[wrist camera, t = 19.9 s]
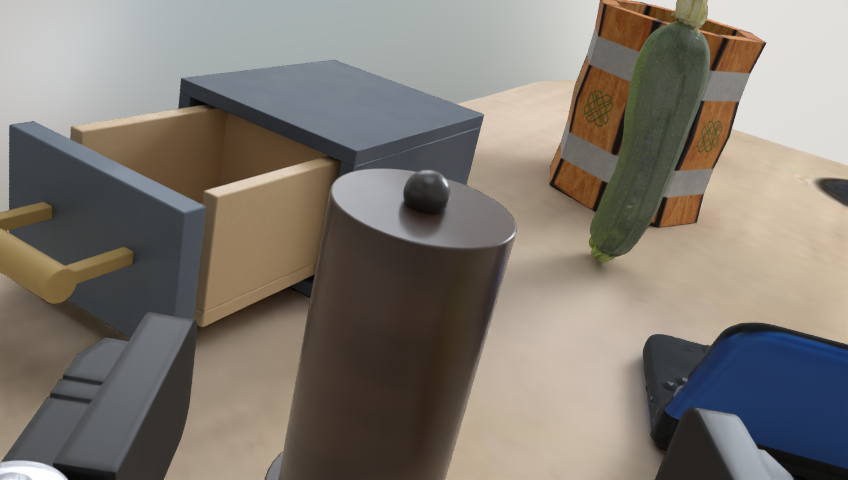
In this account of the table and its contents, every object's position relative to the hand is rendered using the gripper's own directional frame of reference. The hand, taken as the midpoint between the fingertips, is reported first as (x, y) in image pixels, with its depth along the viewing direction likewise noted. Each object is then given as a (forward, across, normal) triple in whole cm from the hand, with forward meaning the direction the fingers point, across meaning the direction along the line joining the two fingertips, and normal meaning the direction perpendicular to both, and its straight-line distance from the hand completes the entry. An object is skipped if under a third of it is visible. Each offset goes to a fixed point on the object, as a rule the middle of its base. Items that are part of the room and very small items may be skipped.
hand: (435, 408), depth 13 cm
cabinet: (+34, +4, +13) cm, 37 cm away
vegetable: (+38, -15, +13) cm, 43 cm away
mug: (+56, -22, +13) cm, 62 cm away
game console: (+19, -21, +14) cm, 31 cm away
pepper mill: (+8, 0, +13) cm, 15 cm away
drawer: (+23, +10, +12) cm, 28 cm away
